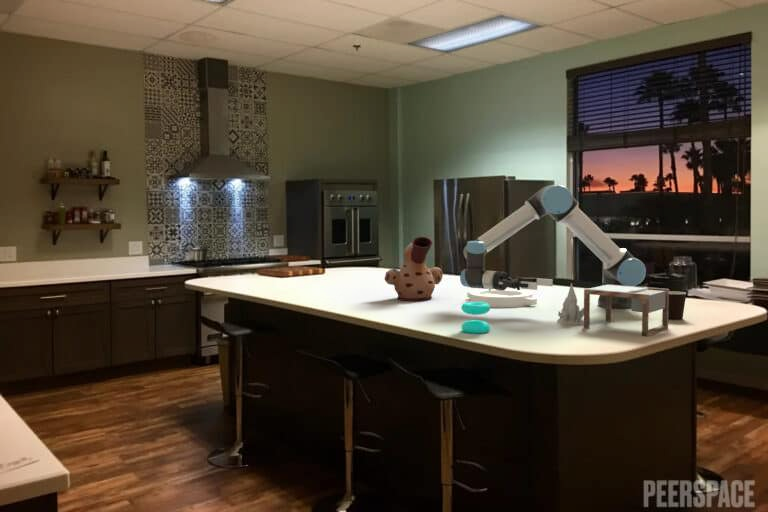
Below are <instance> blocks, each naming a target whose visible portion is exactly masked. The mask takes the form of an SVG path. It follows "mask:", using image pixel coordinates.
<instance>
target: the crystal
mask: <svg viewBox="0 0 768 512" xmlns="http://www.w3.org/2000/svg"><path fill="white" fill-rule="evenodd" d="M567 293H568V294H567V296H566V297H565V299H564V300H563V303H562V309H561V310H560V311H558V314H557V315H558V317H559V318H558V320H557V321H556V322H557V323H558V324H563V325H573V326H574V325H575V326H576V325H584V319H582V318H584V307H582V309H580V306H579V305H578V299H577V298H578V297H577V295H576V292H575V289H574V285H573V283H572V282H571V283H570V286H569V290H568V292H567Z"/></svg>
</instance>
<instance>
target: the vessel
mask: <svg viewBox="0 0 768 512" xmlns="http://www.w3.org/2000/svg"><path fill="white" fill-rule="evenodd" d="M432 246H433V241H432V239H430V238H428V237H426V236H417V237H415V238H414V239H412V242H410V243H409V244H408V245H407V246H406V247H405V248H404V250H403V257H404V263H403V265H402V267H401V268H400V270H398V269H396V268H391V269H389V270H387V271H386V272H385V276H384V281H385V282H386V283H387V284H388V285H391V286H393V287H394V291H395V293H396V294H397V298H396V299H397V300H400V301H406V302H410V301H411V302H414V301H416V302H418V301H427V300H431V299H432V298H433V296H432V295H433V293H434V290H435V288H436V285H440V283H441V282H442V279H443V276H444V274H443V271H442V269H441V268H440V267H438V266H433V267H430V268H429V267H428V266H427V264H426V258H427V255H428V253H429V251H430V249H431V247H432Z"/></svg>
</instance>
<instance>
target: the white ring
mask: <svg viewBox="0 0 768 512" xmlns="http://www.w3.org/2000/svg"><path fill="white" fill-rule="evenodd" d="M466 296H467V298H469V302H484V303H487V304H489V306H490V308H518V307H528V306H536V305H538V303H537V302H538V298H533V293H532V292H531V291H527V290H524V289H520V290H517V289H513V288H508V289H507V288H506V289H505V290H495V289H491V290H490V291H489V289H479V290H478V289H476V290H472V291H468V292H467V295H466Z"/></svg>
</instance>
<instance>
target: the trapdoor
mask: <svg viewBox="0 0 768 512" xmlns="http://www.w3.org/2000/svg"><path fill="white" fill-rule="evenodd" d="M640 287H641V286H635V287H627V286H614V285H603V286H602V285H600V286H595V287H591V288H590V287H589V288H588V289H592V290H604V291H616V292H628V293H640V294H649V314H651V313H654V312H657V311H660V310H663V309H664V308H665V291H658V290H648V288H649V287H648V288H647V286H645V287H646V288H640ZM642 303H643V299H637V298H632V307H631V308H630V309H631V312H634V313H635V312H636V313H642Z"/></svg>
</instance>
